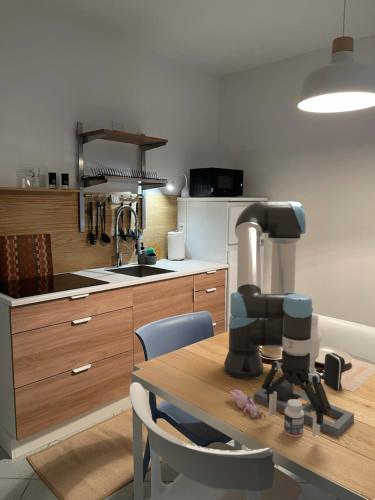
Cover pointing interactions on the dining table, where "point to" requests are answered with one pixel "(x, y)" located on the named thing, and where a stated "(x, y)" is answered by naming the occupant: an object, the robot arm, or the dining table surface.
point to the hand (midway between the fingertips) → (293, 423)
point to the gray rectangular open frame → (307, 408)
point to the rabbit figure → (247, 404)
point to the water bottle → (314, 343)
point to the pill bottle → (294, 418)
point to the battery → (333, 370)
